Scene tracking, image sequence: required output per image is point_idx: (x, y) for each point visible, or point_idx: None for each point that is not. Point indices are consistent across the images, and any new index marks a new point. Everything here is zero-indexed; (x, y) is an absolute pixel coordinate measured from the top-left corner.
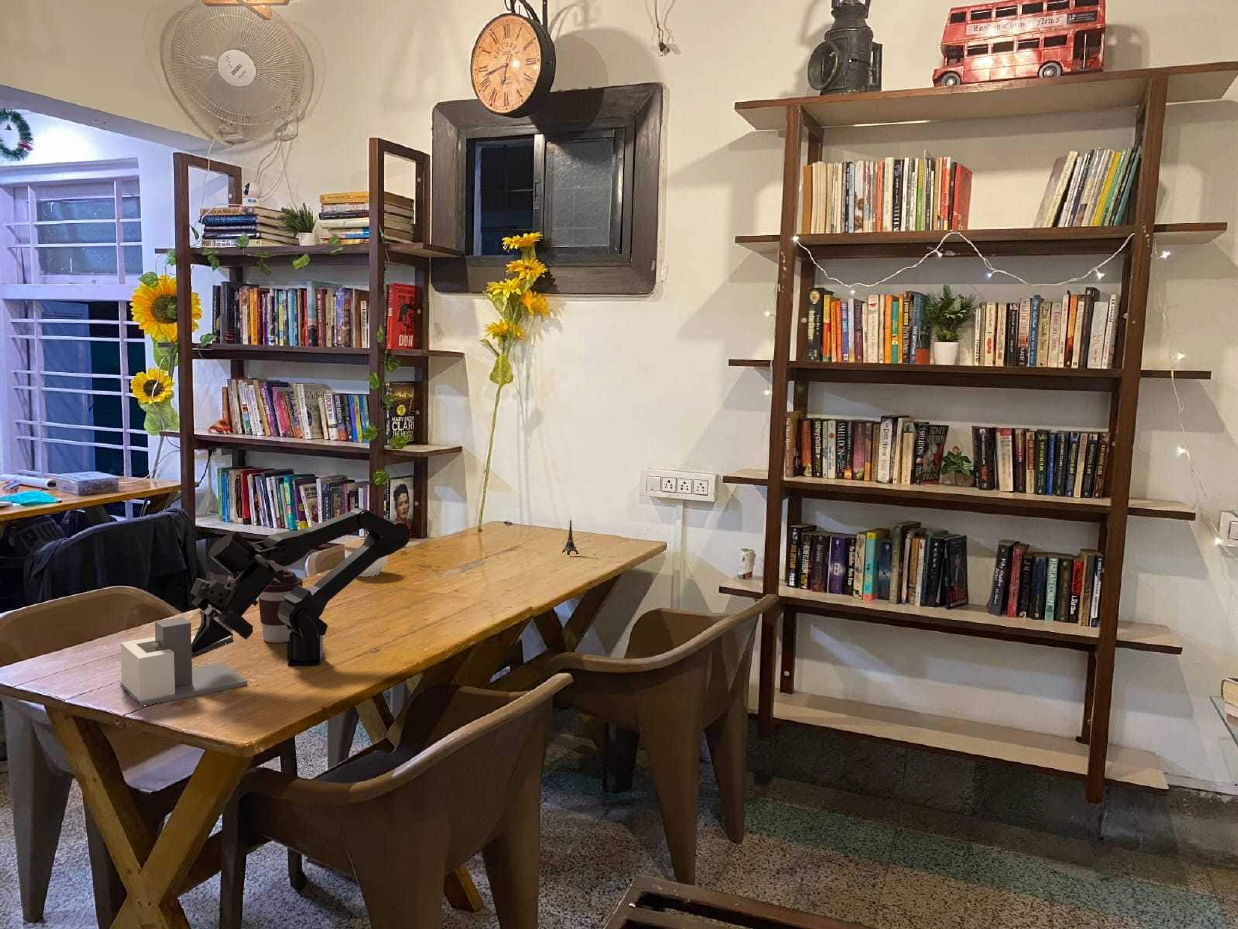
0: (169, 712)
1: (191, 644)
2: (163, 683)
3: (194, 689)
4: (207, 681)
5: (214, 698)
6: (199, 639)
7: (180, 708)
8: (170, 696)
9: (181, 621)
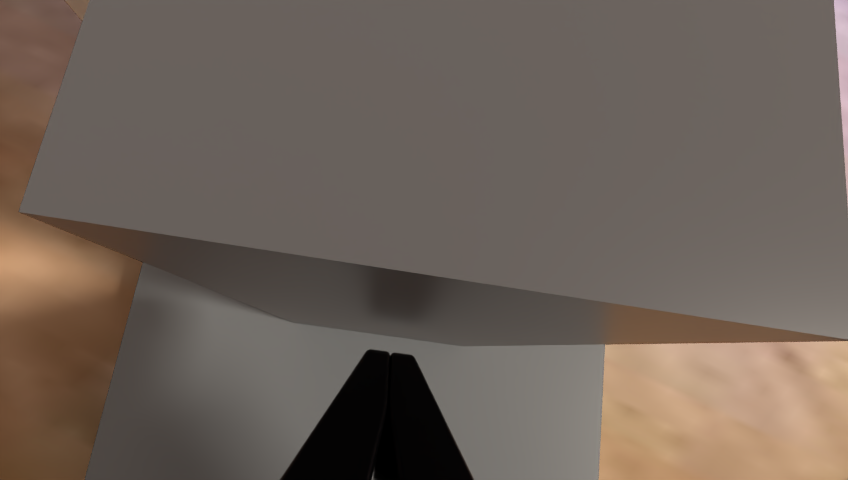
0: (23, 56)
1: (421, 388)
2: None
3: (187, 285)
4: (267, 420)
5: (9, 336)
6: (293, 461)
7: (29, 120)
8: None
9: (407, 95)
